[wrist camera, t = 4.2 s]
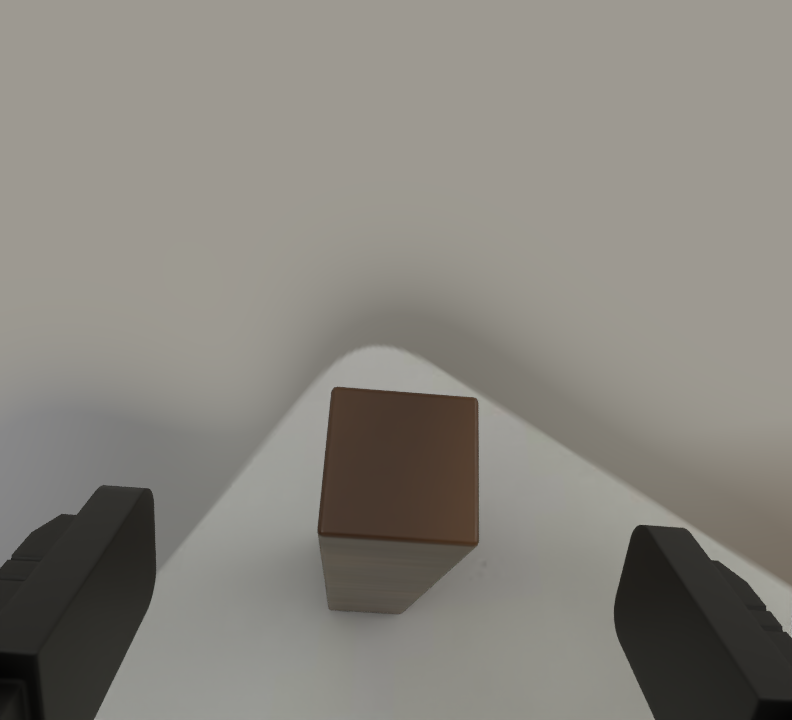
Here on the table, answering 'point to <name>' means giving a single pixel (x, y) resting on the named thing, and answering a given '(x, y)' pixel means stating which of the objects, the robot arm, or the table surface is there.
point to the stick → (396, 495)
